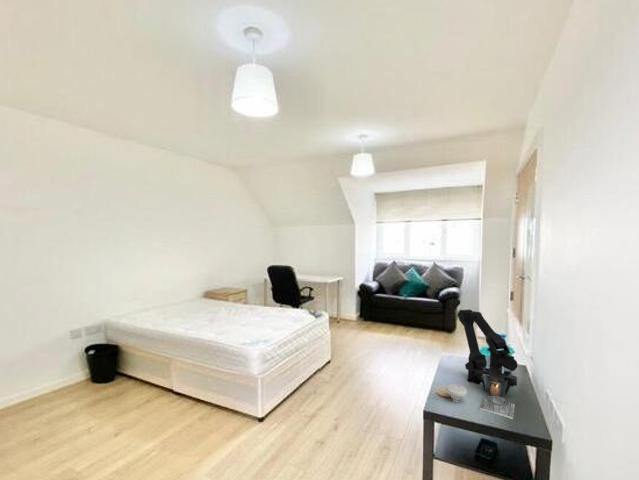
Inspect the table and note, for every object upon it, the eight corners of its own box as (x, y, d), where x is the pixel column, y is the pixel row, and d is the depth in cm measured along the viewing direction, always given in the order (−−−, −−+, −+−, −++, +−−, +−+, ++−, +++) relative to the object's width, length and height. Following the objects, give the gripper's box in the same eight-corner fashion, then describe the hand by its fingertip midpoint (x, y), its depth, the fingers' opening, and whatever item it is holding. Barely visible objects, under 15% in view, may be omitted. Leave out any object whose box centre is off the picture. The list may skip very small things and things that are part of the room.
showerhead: (441, 382, 159) (459, 381, 161) (440, 396, 159) (458, 395, 161) (451, 392, 150) (471, 390, 152) (451, 407, 150) (470, 405, 152)
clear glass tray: (480, 409, 149) (480, 402, 149) (484, 397, 160) (484, 390, 159) (512, 419, 142) (512, 411, 141) (514, 406, 152) (514, 399, 152)
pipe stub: (489, 395, 162) (489, 383, 162) (490, 391, 166) (490, 380, 166) (499, 397, 160) (499, 386, 159) (500, 394, 163) (500, 382, 163)
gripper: (473, 362, 161) (472, 393, 161) (516, 373, 150) (515, 405, 151) (476, 355, 170) (475, 384, 170) (518, 365, 159) (516, 395, 160)
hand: (494, 392), depth 163 cm, fingers open, 9 cm apart
